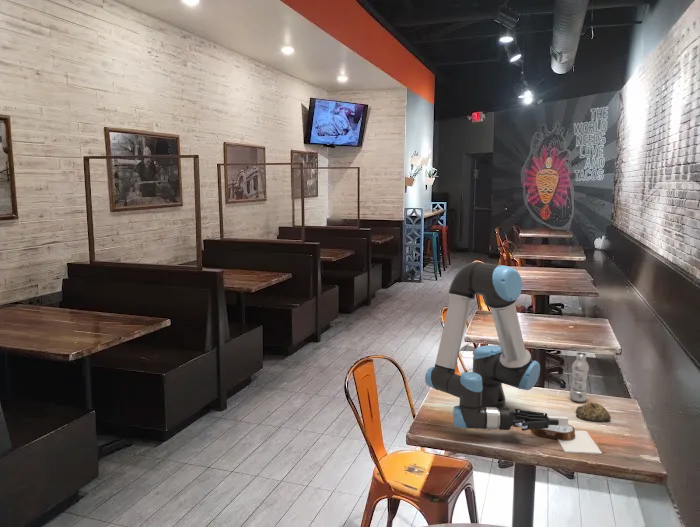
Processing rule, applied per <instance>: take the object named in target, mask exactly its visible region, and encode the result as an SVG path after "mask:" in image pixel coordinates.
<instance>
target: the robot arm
mask: <svg viewBox="0 0 700 527" xmlns="http://www.w3.org/2000/svg"><path fill="white" fill-rule="evenodd" d="M522 281H523V280H522V277H521V275H520V272H519V271H518V270H517V269H515V268H514V267H510V266H507V265H502V264H500V265H498V264H493V263H492V264H491V263H487V262H486V263H484V262H479V261H475V262H474V261H473V262H469V263H467V264H465V265H463V267H461V269H459V270H458V272H457V273H456V274H455V275H454V278H453V279H452V280H451V283H450V286H449V290H448V293H447V295H448V296H449V302H448V306H447V312H446V316H445V320H444V325H443V329H442V333H441V336H440V342H439V346H438V349H437V350H438V351H437V355H436V358H435V363H434V366H431V367H429V368H428V369H427V372H426V373H425V376H424V381H425V384H426V385H427V386H428V387H430V388H431V389H434V390H436V391H439V392H442V393H445V394H449V395H451V396H454V397H457V398H459V405H455V406H453V409H452V419H453V420H452V422H453V425H454V427H456V428H460V429H461V428H462V429H465V430H466V429H475V430H476V429H477V430H478V429H479V430H480V429H483V430H487V431H490V430H498V429H499V431H509V430H510V429H511V427H514V428H521V431H523V432H525V431H529V430H530V431H531V429H546V428H549V425H555V426H568V425H569V418H568V417H567V416H558V415H557V416H555V415H554V416H553V415H548V413H547V412H539V411H532V410H524V409H519V408H515V409H514V411H511V409H510V408H509V407H505V405H506V395H505V392H504V388H503V384H504V385H506V386H507V385H508V386H510V387H514V388H516V389H519V390H523V391H530V390H532V389H533V388H534V387H535V385H536V384H537V382H538V380H539V377H540V374H541V373H540V372H541V365H540V363H539V361H537V360H533V359H532V355H531V352H530V351H529V350H528V349H527V348H525V342H524V339H523V333H522V330H521V325H520V319H519V317H518V312H517V308H516V302H517V301H518V299H519V297H520V295H521V292H522V286H523V282H522ZM476 295H477V296H478V295H479V296H482V297H483V300H484V304H485V306H487V307H488V308H490V310H491V314H492V318H493V321H494V326H495V330H496V334H497V337H498V343H499V345H493V344H491V345H482V346H478V347H476V348H475V349H474V351H473V356H472V372H471V371H465V372H462V373H461V374H460V375H459V374H457V373H456V372H455V371H456V367H457V364H458V358H459V355H460V350H461V347H462V342H463V337H464V334H465V328H466V325H467V319H468V315H469V311H470V307H471V303H472V302H474V300H475V298H476Z"/></svg>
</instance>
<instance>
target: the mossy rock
mask: <svg viewBox="0 0 700 527" xmlns="http://www.w3.org/2000/svg"><path fill="white" fill-rule="evenodd" d="M575 417H576V418H578V419H580V420H583V421H588V422H595V423H596V422H599V423H608V422H610V421H611V414H610V413H609V411H608V409H606V408H605V407H604V406H602V405H601V404H599V403H597V402H590V403H587V404H586V403H585V404H582V405H580V406H577V407H576V409H575Z"/></svg>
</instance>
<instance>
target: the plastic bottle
mask: <svg viewBox="0 0 700 527" xmlns="http://www.w3.org/2000/svg"><path fill="white" fill-rule="evenodd" d="M575 358H576V359H575V360H574V362H573V363H572V365H571V366H572V367H571V368H572V369H571V370H572V382H571V388H570V391H569V396H570V399H571V400H572V401H575V402H577V403H578V402H579V403H582V402H585V401H587V400H586V399H587V397H588V394H587V393H588V392H587V380H588V378H587V377H588V374H589V369H590V367H589V364H588V361H587V354H586V353H584V352H577V353H576V357H575Z"/></svg>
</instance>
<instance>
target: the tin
mask: <svg viewBox="0 0 700 527" xmlns="http://www.w3.org/2000/svg"><path fill="white" fill-rule="evenodd" d="M575 429H576V428H575V427H573V425H570V424H568V426H555V425H549V428H546V429H531V430H530V432H531V431H532V432H531V433H532V434H533V433H534V434H533V435H536V436H538V437H545V438H549V439H556V440H557V439H560V440H570V439H573V438H574V437H575Z"/></svg>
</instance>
